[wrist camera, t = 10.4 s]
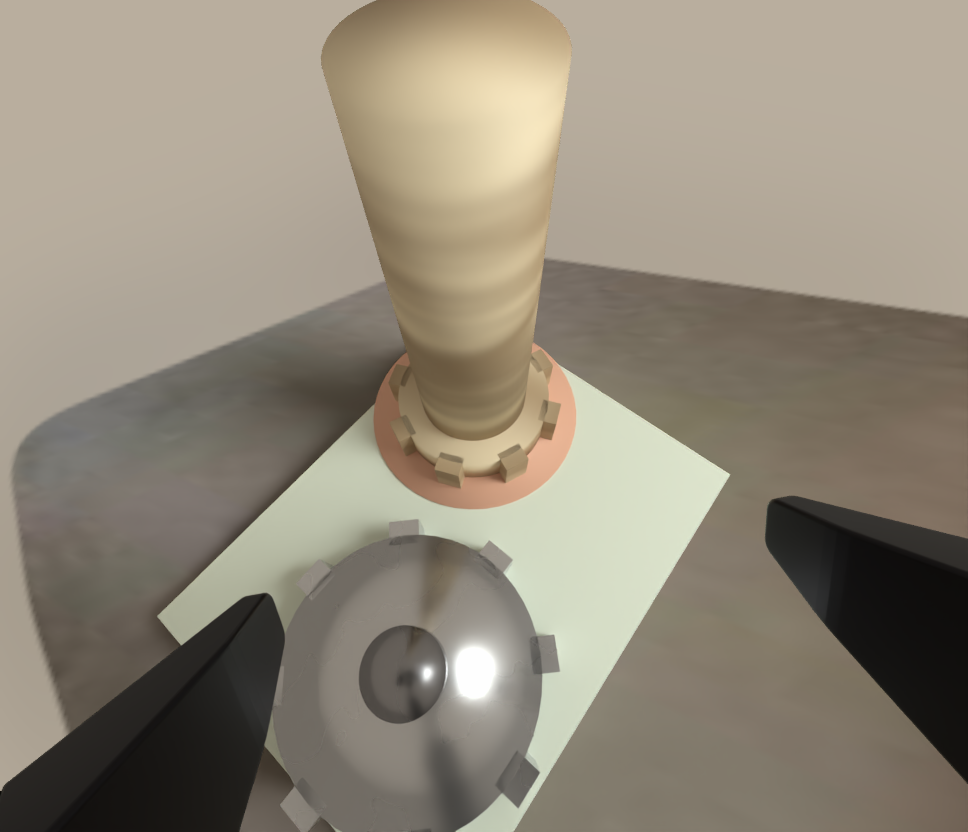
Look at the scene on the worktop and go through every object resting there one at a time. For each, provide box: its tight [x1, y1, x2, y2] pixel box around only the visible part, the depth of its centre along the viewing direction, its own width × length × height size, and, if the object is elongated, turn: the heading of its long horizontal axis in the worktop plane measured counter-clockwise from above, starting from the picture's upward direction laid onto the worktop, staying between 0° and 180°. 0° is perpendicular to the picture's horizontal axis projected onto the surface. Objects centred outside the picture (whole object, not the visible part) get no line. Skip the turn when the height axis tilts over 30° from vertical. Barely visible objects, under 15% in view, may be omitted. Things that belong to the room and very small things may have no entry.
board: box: [157, 343, 730, 832], centre depth 17 cm, size 17×14×1 cm
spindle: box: [321, 0, 572, 488], centre depth 13 cm, size 7×7×13 cm
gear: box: [272, 519, 560, 832], centre depth 14 cm, size 9×9×2 cm
